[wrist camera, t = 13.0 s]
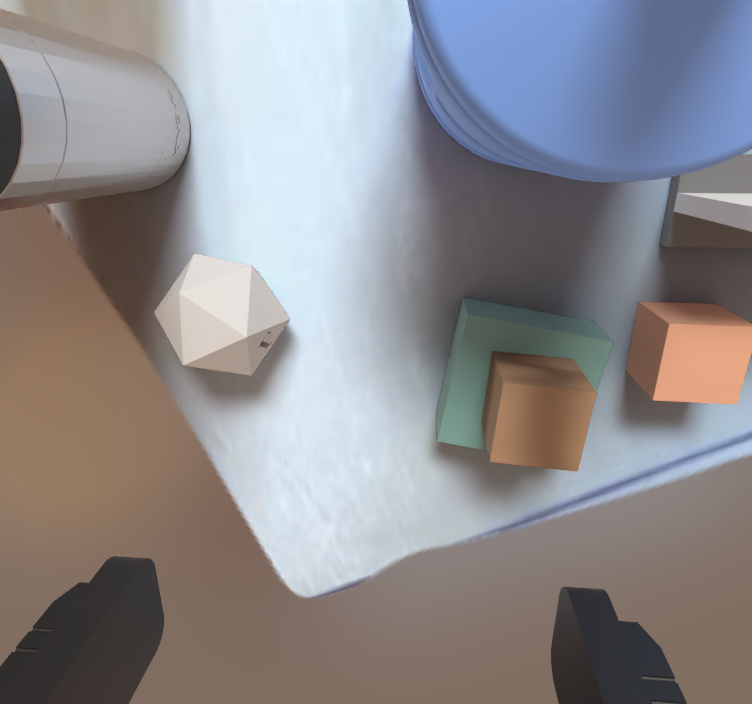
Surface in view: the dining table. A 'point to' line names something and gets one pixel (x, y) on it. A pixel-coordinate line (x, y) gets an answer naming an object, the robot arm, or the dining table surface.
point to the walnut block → (536, 411)
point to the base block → (515, 335)
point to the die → (221, 316)
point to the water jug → (590, 82)
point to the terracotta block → (689, 352)
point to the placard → (711, 207)
